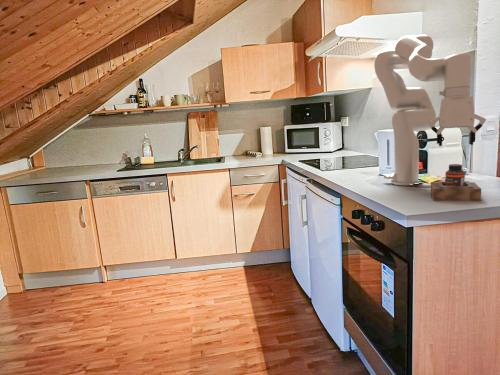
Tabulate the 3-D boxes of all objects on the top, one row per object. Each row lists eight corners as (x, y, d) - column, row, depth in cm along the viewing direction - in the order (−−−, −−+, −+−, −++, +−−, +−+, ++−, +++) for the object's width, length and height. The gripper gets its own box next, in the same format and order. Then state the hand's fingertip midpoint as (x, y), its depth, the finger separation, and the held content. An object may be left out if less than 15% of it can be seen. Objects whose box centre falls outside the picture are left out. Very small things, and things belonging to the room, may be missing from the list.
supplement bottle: (442, 197, 126) (442, 165, 124) (447, 194, 130) (448, 163, 128) (461, 199, 122) (462, 166, 120) (466, 195, 126) (467, 163, 124)
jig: (433, 200, 123) (433, 187, 122) (430, 192, 134) (430, 180, 133) (480, 200, 117) (481, 187, 117) (474, 193, 128) (474, 180, 127)
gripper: (428, 95, 119) (428, 147, 122) (490, 90, 112) (487, 144, 116) (427, 96, 126) (426, 145, 129) (485, 91, 119) (482, 143, 122)
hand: (455, 145), depth 122 cm, fingers open, 8 cm apart
